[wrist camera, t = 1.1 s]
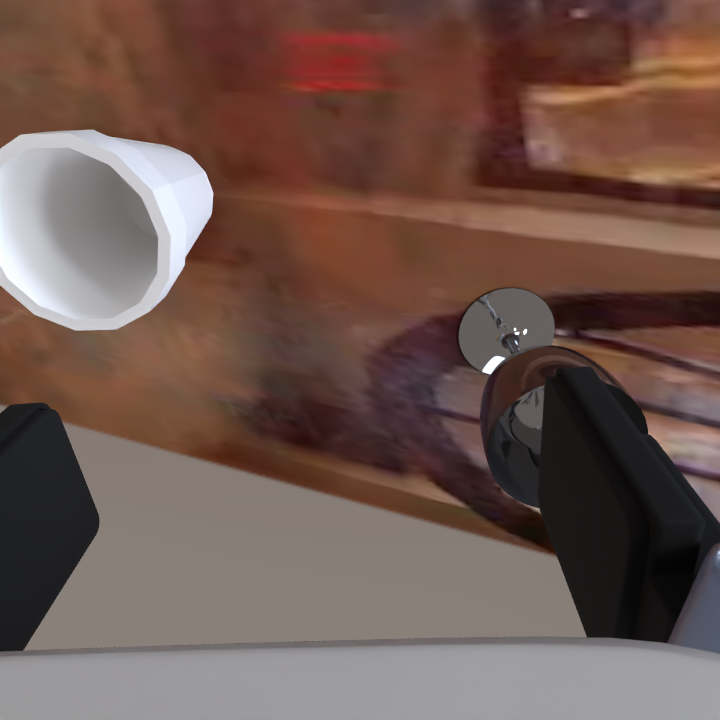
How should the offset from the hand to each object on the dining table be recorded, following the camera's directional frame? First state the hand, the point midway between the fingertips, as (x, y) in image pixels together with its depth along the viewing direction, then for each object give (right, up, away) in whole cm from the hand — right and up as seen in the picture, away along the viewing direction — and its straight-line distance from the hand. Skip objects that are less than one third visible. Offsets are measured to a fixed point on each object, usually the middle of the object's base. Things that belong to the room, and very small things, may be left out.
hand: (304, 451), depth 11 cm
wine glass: (+12, +4, +31) cm, 33 cm away
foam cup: (-12, +13, +27) cm, 33 cm away
